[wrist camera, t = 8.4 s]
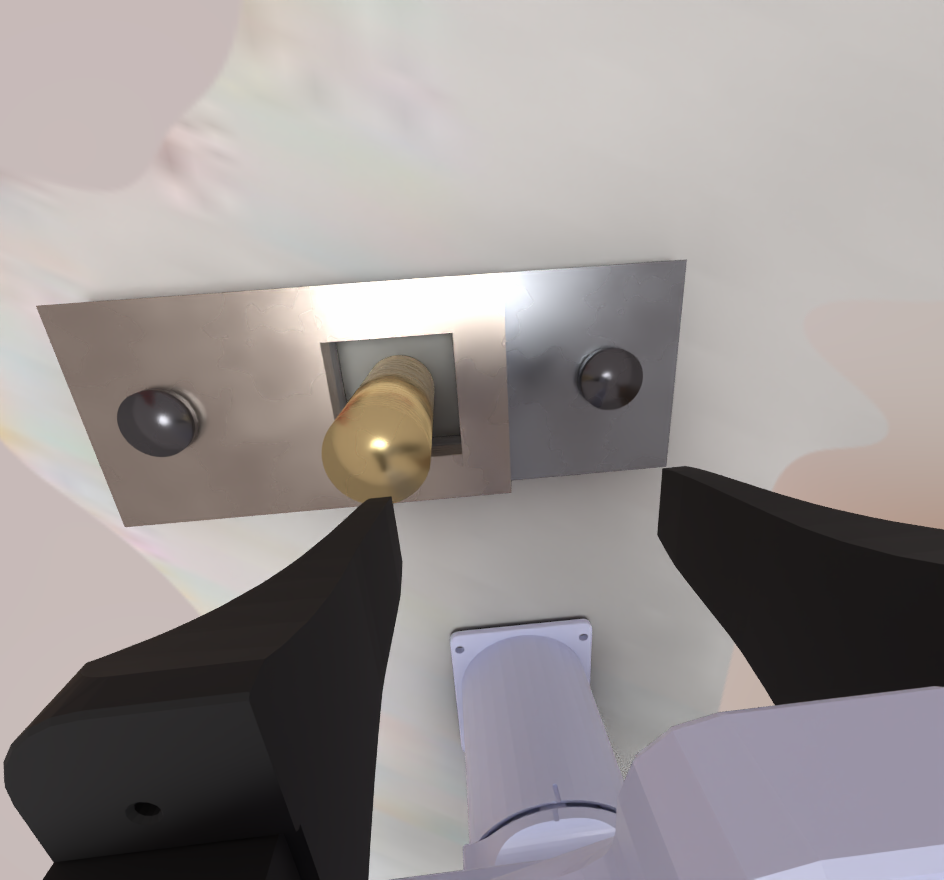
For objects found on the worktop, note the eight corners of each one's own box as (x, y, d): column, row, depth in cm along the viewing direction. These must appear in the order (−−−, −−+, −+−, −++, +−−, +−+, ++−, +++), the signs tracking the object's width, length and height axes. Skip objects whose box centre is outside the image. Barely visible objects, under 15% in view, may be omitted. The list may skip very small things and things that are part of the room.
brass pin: (435, 419, 20) (432, 503, 13) (369, 421, 20) (327, 506, 13) (433, 354, 19) (429, 404, 12) (364, 355, 19) (315, 406, 12)
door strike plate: (671, 260, 18) (713, 257, 16) (654, 456, 22) (686, 483, 19) (88, 302, 18) (20, 306, 15) (159, 500, 21) (114, 535, 18)
